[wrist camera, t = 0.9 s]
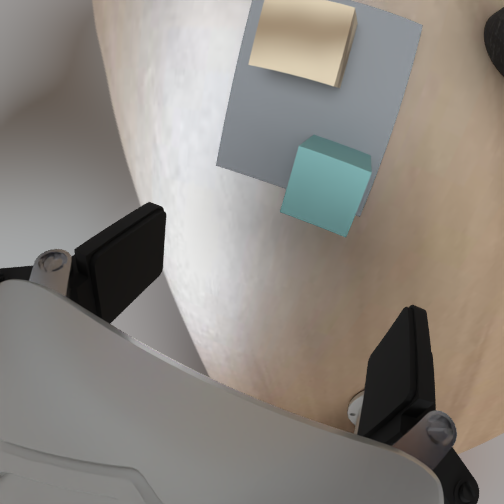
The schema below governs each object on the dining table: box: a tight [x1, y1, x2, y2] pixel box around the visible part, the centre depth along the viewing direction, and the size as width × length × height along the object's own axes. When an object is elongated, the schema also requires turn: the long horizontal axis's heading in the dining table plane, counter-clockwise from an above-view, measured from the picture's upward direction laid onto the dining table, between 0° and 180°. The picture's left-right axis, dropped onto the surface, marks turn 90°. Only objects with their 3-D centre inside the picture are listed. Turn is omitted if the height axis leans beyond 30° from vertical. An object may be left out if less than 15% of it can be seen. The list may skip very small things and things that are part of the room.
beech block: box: [248, 0, 358, 88], centre depth 18 cm, size 6×6×5 cm
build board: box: [216, 0, 423, 217], centre depth 23 cm, size 18×14×1 cm
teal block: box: [280, 135, 372, 237], centre depth 23 cm, size 5×5×6 cm
